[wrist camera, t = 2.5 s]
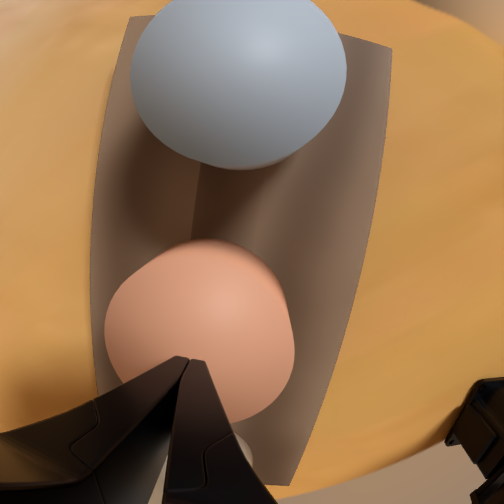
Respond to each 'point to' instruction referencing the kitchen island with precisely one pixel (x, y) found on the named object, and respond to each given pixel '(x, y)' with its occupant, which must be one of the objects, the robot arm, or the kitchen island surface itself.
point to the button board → (250, 230)
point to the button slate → (238, 79)
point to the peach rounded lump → (206, 321)
